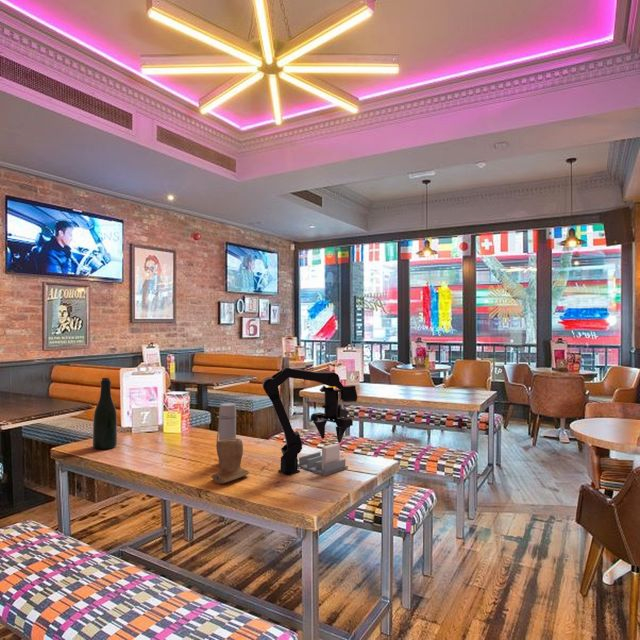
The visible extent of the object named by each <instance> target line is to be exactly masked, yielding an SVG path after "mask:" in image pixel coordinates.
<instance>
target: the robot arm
mask: <svg viewBox="0 0 640 640" xmlns="http://www.w3.org/2000/svg"><path fill="white" fill-rule="evenodd" d="M289 378H291V379H295V380H296V379H298V380H303V381H309V382H310V381H311V382H317V383H320V384H322V387H320V389H319V391H320V392H321V393H324V397H323V398H324V403H323V404H322V405H321V408H323V410H324V411H323V412H315V413H312V414H311V416H310V421H311V422H312V424H314V426H315V428H316V429H317V432H318V433H319V436H320V437H321V439H322V440H323V439H324V440H325V437H326V435H325V434H326V425H327V422H331V423H334V424H336V426H335V431H336V439H337V444H341V442H342V440H343V437H344V434H345V432H346V430H347V429H348V428H350V427H351V426H353V425H354V423H353V419H352V418H350V417H348V415H349V410H346V409H343V408H342V406H341V404H339V400H341V402H342V403H357V401H358V393H357V389H356V388H357V387H356V385H355V384H354V385H353V384H352V385H343V384H342V382H341V380H340V376H339V375H338V373H336V372H334V371H331V370H329V371H328V370H327V371H314V370H313V371H312V370H305V369H298V368H293V367H291V368H290V367H288V366H286V367H285V366H284V367H283V368H282V369H281V370H280V371H278V372H276V373H275V374H273V375H272V376H270V377H269V376H268V377H266V378H264V379H263V381H262V383H261V385H262V388H263V390H264V392H265V393H266V395H267V396H268V398H269V400H270V402H271V403H272V406H273V408H274V412H275V414H276V415H277V419H278V421H279V423H280V427H282V428H281V429H282V430H283V435H284V440H285V444H284V445H283V446H282V447H281V448H280V451H281V454H282V456H280V469H278V470H277V472H278V473H281V474H284V475H287V476H289V475H290V476H291V475H293V474H297V473H300V471H301V470H299V467H298V464H299V458H298V454H300V453H301V451H302V449H303V444H304V443H303V441H302V439H301V435H300V433H299V430H296V431H294V429H293V427H292V424H291V422H290V420H289V417H288V415H287V412H286V409H285V407H284V405H283V401H282V400H281V396H280V394H281V393H280V390H279V386H281V385H282V384H283V383H284V382H285V381H287V380H288V379H289ZM326 386H327V387H326ZM334 387H335V388H337V389H335V388H334Z"/></svg>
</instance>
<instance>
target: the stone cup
mask: <svg viewBox="0 0 640 640" xmlns="http://www.w3.org/2000/svg"><path fill="white" fill-rule="evenodd" d="M216 442H217V441H216ZM216 453H217V458H218V463H219V462H220V464H219V471H217V472H216V473H213V474H211V476H210V477H211V478H212V480H214V482H216V483H217V484H219V485H221V484H226V483H229V482H231V481H235V480H237V479H240V478H243V477H245V476H247V475H249V474H250V471H249V470H246V469H244V468H242V467H241V465H242V459H243V453H244V445H243V441H242V439H241V438H236V439H224V440H219V439H218V442H217V449H216Z"/></svg>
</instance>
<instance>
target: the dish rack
mask: <svg viewBox="0 0 640 640" xmlns="http://www.w3.org/2000/svg"><path fill="white" fill-rule="evenodd" d="M299 467H301V468H300V469H302V468H303V470H306V469H307V470H306V471H309V472H311V473H315V472H316V473H315V474H318V475H321V476H324V475H325V476H328V475H330V474H334V473H337V472H339V471H343V470H346V468H347V469H348V467H349V466H348V465H346V458H343V459H339V460H338V461H335V462H332V463H328V464H325V465H324V470H322V451H317V452H314V453H309V454H306V455H302V456H298V468H299Z"/></svg>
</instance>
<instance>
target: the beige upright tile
mask: <svg viewBox="0 0 640 640" xmlns="http://www.w3.org/2000/svg"><path fill="white" fill-rule="evenodd" d="M340 446H341V444H340V443H333V444H329V445H324V446H322V447H321V456H322V470H324V465H325V464H328V463H332V462H335V461H338V460H341V458H340V457H341V456H340V453H341V452H340V449H341V447H340Z"/></svg>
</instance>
